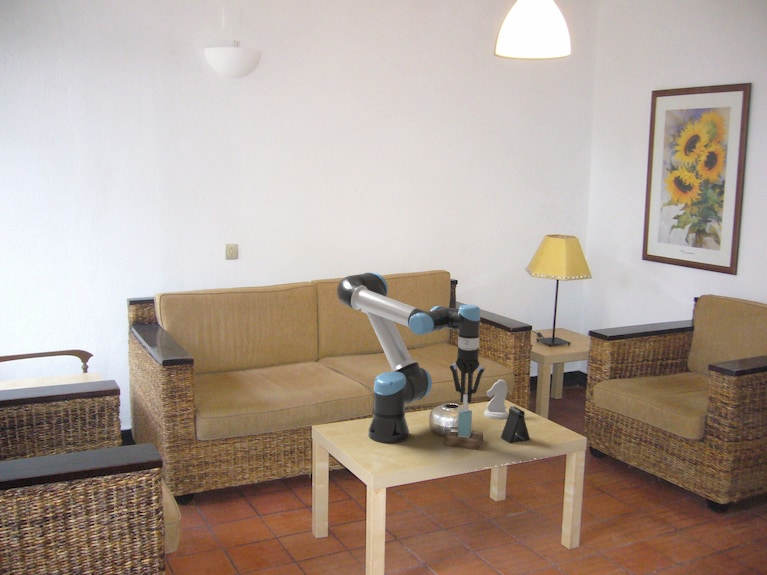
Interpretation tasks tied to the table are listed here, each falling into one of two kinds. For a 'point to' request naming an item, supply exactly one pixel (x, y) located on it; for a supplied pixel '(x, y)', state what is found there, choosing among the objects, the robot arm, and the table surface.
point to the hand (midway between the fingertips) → (465, 410)
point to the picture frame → (515, 427)
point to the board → (464, 440)
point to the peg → (464, 424)
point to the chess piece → (497, 401)
